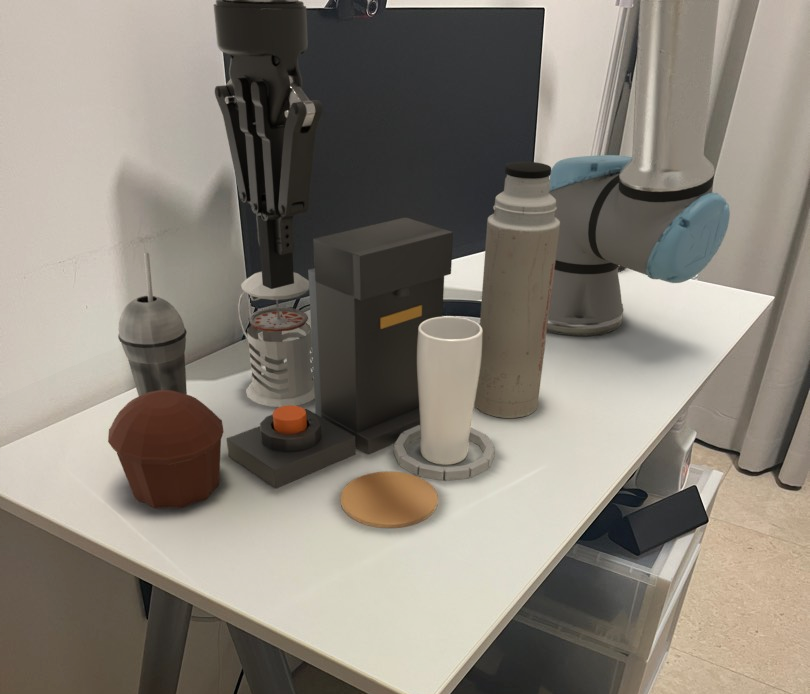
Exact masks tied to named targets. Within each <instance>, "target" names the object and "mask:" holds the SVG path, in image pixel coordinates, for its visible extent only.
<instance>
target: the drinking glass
mask: <svg viewBox="0 0 810 694" xmlns="http://www.w3.org/2000/svg"><path fill="white" fill-rule="evenodd" d="M482 333H483V330H482V327H481V326H480V323H478V322H476V321H475V320H472V319H469V318H465V317H461V316H452V315H451V316H450V315H449V316H448V315H447V316H444V315H442V317H435V318H431V319H428V320H425V321H423V322H422V323H421V324H420V325H419V327H418V339H417V380H418V396H419V412H420V429H421V438H420V453H421V455H422V457H423V458H424V460H426V461H428V462H430V463H433V464H436V465H440V466H451V465H455V464H458V463H461V462H462V461H464V460H465V459H466V457H467V455H468V453H469V442H470V440H469V435H470V428H472V422H473V416H474V408H475V398H476V392H477V386H478V380H479V374H480V367H481V357H482Z"/></svg>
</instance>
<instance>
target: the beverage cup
mask: <svg viewBox="0 0 810 694" xmlns="http://www.w3.org/2000/svg"><path fill="white" fill-rule="evenodd" d="M143 258H144V269H145V282H146V292H147V295H143V296H142V295H141V296H139V297H136V298H134V299H133V300H131V301H130V302H129V303H128V304H127V305H126V306H125V307H124V309H123V310H122V312H121V315H120V317H119V321H118V335H117V337H118V340H119V342H120V345H121V347H122V349H123V352H124V354H125V356H126V359H127V361H128V364H129V368H130V371H131V375H132V379H133V382H134V386H135V389H136V392H137V397H139V396H141V395H143V394H146V393H148V392H153V391H159V390H170V391H176V392H180V393H183V394H186V395H188V390H187V373H186V371H187V370H186V355H185V352H186V344H187V337H186V336H187V329H186V328H185V324H184V320H183V319H182V316H181V314H180V313H179V311H178V310H177V309H176V307H175V306H174V305H173V304H171V302H169V301H168V300H166V299H164V298H161V297H159V296H156V295H155V296H154V295H153V284H152V283H153V282H152V272H151V261H150V253H149V252H143Z"/></svg>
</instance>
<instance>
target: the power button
mask: <svg viewBox="0 0 810 694" xmlns="http://www.w3.org/2000/svg"><path fill="white" fill-rule="evenodd" d="M305 409H306V408H303V407H302V406H300V405H297V406H293V405H289V406H282V407H276V408H275V409H274V410H273V412H272V414H273V423H274V429H275V431H277V432H279V433H284V434H294V433H299V432H302V431H304V430H305V429H306V428H307V417H306V411H305Z"/></svg>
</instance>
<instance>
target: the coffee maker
mask: <svg viewBox="0 0 810 694" xmlns="http://www.w3.org/2000/svg"><path fill="white" fill-rule="evenodd" d="M312 240H313V258H314V259H313V261H314V264H313V265H314V267H313V268H309V269H308V270H307V272H308V273H307V274H308V281H309V290H308V295H309V310H310V311H309V312H310V315H309V316H310V328H311V335H312V348H311V349H312V354H313V357H312V360H313V374H314V376H313V379H314V394H315V399H314V411H315V412H314V413H315V414H316V415H318V416H320V417H322V418H323V419H325V420H327V421H329V422H331V423H332V424H334V425H336V426H338V427H339V428H341V429H343V430H345V431H346V432H348V433H350V434H352V435H353V436H355V444H356V449H358V450H360V451H362V452H363V453H365V454H366V455H369V456H370V455H371V454H374V453H377V452H378V451H380V450H382V449H385V448H388V447H389V446H392V445H393V454H394V456H395V457H394V458H395V459H396V461H397V463H398V465H399V466H400V467H401V468H403V469H404V470H406V471H408V472H410V474H411V473H412V475H414V476H418V477H419V478H425V479H432V480H436V481H454V480H455V481H456V480H465V479H470V478H473V477H475V476H478V475H480V474H481V473H484V472H485V471H487V470H489V469H490V467H491V465H492V463H493V460H494V458H495V453H496V449H495V448H496V447H495V445H494V444H493V442H492V440H491V439H490V437H489V436H488V435H487V434H485V433H483V432H481V431H479V430H477V429H475V428H473V427H471V428H470V435H469V442H472V443H474V444H476V445H478V446H479V448H480V449H481V451H482V455H481V457H480V458H478V459H476V460H473V461H472V462H470V463H468V464H465V465H455V466H446V467H445V466H440V465H439V466H438V465H434V464H433V465H432V464H427V463H423V462H421V461H419V460H417V459H415V458H414V457H411V456H410V455H408V453H407V451H406V449H407V447H408V445H409V444H410V443H412V442H414V441H417V440H419V439H421V429H420V412H419V396H418V380H417V339H418V327H419V325H420V324H421V323H422V322H423V321H425V320H428V319H431V318H435V317H443V316H444V315H443V314H444V313H443V312H444V292H445V291H444V290H445V289H444V288H445V277H446V276H449V275H451V274H452V265H453V264H452V262H453V246H454V245H453V243H454V232H453V231H450V230H448V229H444V228H441V227H438V226H435V225H432V224H429V223H425V222H422V221H420V220H419V221H418V220H415V219H412V218H409V217H405V216H404V217H402V218H397V219H392V220H388V221H383V222H380V223H376V224H370V225H366V226H363V227H358V228H353V229H350V230H345V231H341V232H337V233H332V234H327V235H324V236H319V237H315V238H313V239H312Z"/></svg>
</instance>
